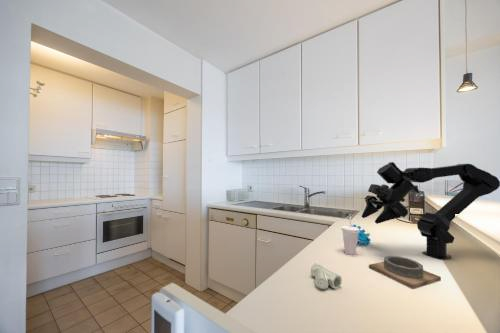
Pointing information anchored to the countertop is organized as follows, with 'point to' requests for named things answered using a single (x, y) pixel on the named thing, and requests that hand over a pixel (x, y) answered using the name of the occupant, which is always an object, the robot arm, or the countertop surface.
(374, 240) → the countertop surface
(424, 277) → the collar stand
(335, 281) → the pipe fitting
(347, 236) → the smoothie
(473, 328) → the countertop surface
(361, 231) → the gear
